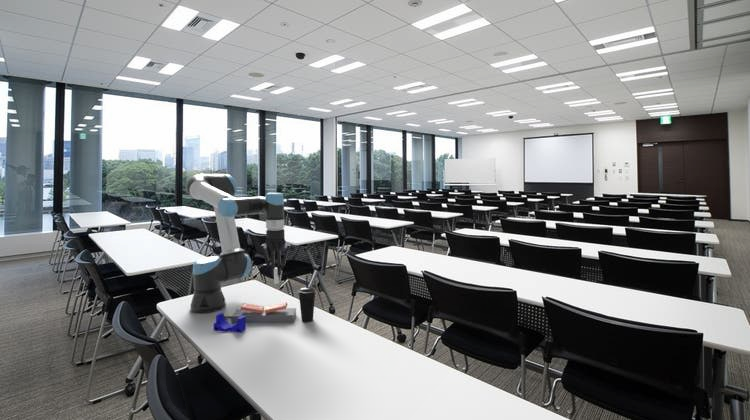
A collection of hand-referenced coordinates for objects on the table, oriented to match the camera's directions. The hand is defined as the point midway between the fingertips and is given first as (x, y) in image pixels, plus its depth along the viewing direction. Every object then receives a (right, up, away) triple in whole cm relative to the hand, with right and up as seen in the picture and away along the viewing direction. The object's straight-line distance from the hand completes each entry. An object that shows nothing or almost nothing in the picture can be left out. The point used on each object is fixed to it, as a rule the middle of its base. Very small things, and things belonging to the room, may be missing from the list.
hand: (276, 282), depth 156 cm
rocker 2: (0, -12, +1) cm, 12 cm away
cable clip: (-16, -18, -10) cm, 26 cm away
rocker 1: (-11, -12, 0) cm, 16 cm away
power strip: (-8, -16, +1) cm, 18 cm away
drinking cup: (+13, -17, +1) cm, 21 cm away
